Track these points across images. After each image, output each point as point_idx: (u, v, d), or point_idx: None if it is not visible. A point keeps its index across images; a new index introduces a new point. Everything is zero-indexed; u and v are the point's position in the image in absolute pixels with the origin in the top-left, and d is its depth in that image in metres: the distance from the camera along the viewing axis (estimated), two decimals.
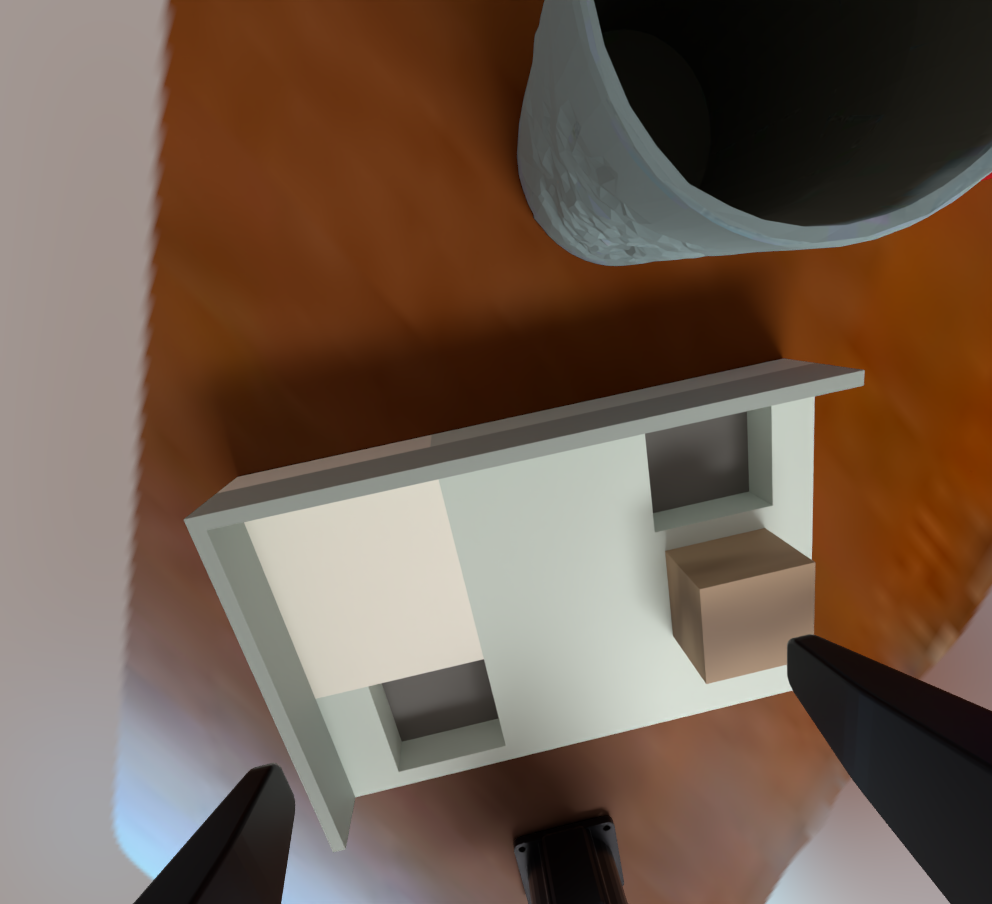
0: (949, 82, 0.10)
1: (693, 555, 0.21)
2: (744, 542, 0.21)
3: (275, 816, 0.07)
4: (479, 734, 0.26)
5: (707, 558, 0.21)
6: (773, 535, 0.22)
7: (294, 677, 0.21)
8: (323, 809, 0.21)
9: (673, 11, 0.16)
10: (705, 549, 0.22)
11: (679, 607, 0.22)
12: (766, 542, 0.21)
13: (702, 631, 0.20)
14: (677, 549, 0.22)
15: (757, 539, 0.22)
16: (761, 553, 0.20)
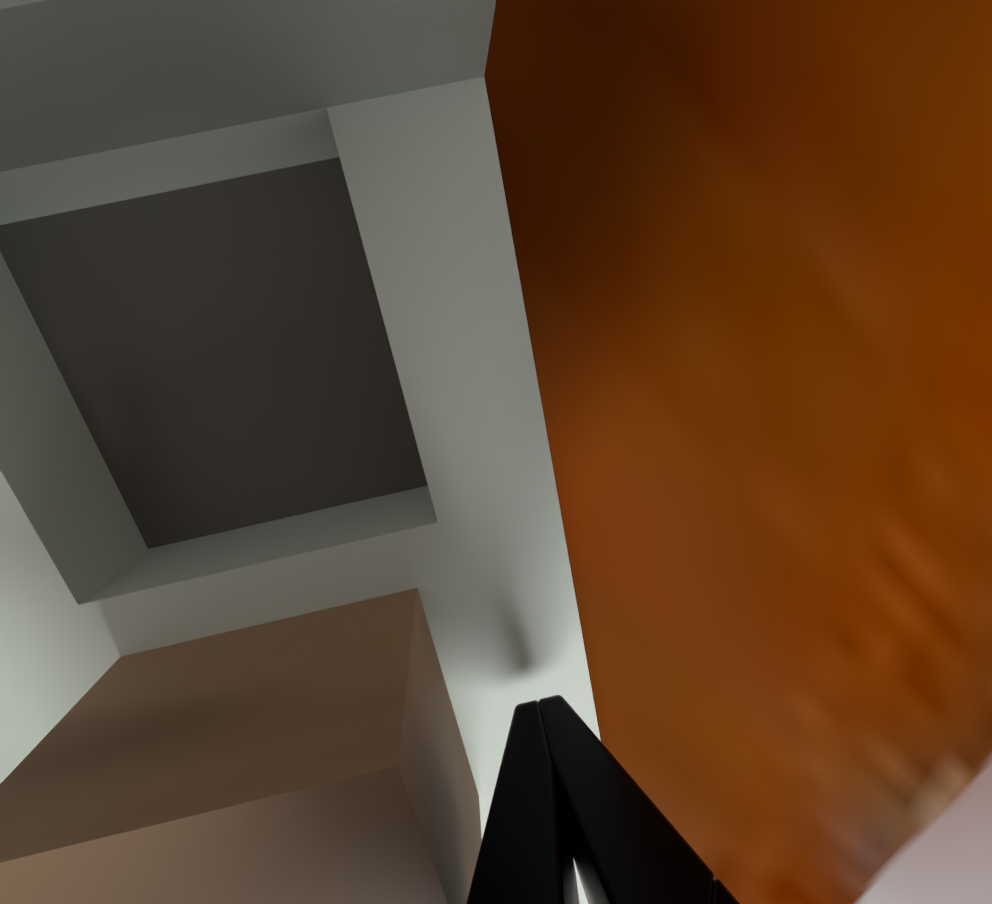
0: None
1: (147, 682, 0.07)
2: (316, 639, 0.07)
3: None
4: None
5: (157, 700, 0.06)
6: (408, 616, 0.07)
7: None
8: None
9: None
10: (202, 659, 0.07)
11: None
12: (364, 644, 0.07)
13: None
14: (149, 653, 0.08)
15: (357, 629, 0.07)
16: (302, 693, 0.06)
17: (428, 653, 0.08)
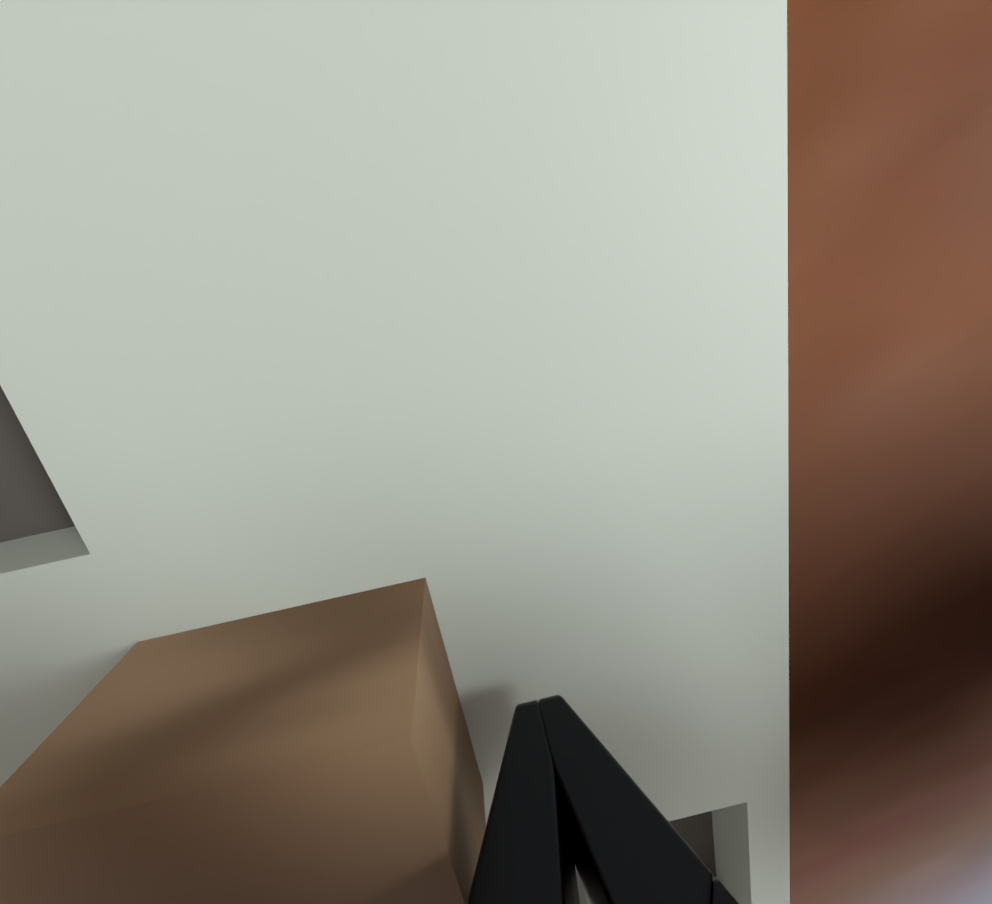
0: None
1: None
2: None
3: None
4: None
5: None
6: (109, 678, 0.07)
7: None
8: None
9: None
10: None
11: None
12: None
13: None
14: None
15: None
16: None
17: (169, 654, 0.07)
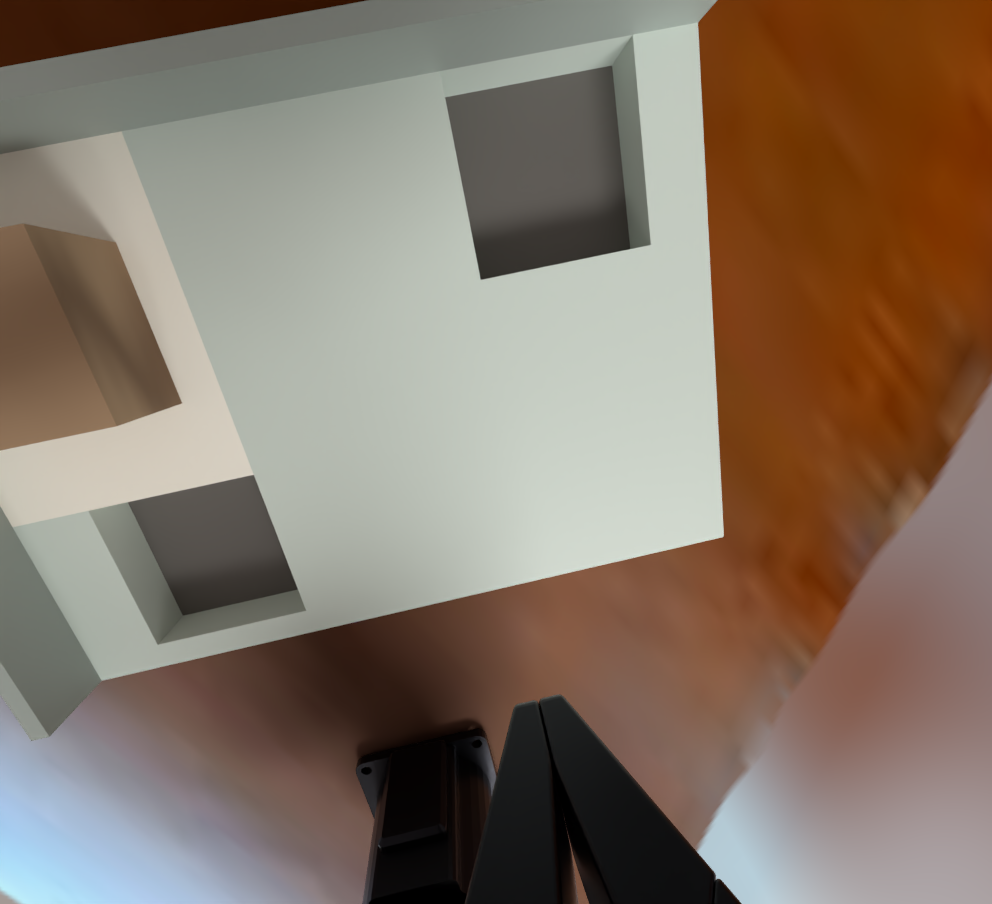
0: None
1: None
2: None
3: None
4: (280, 602, 0.19)
5: None
6: (95, 239, 0.13)
7: None
8: (0, 673, 0.15)
9: None
10: None
11: None
12: None
13: None
14: None
15: None
16: None
17: (115, 271, 0.14)
